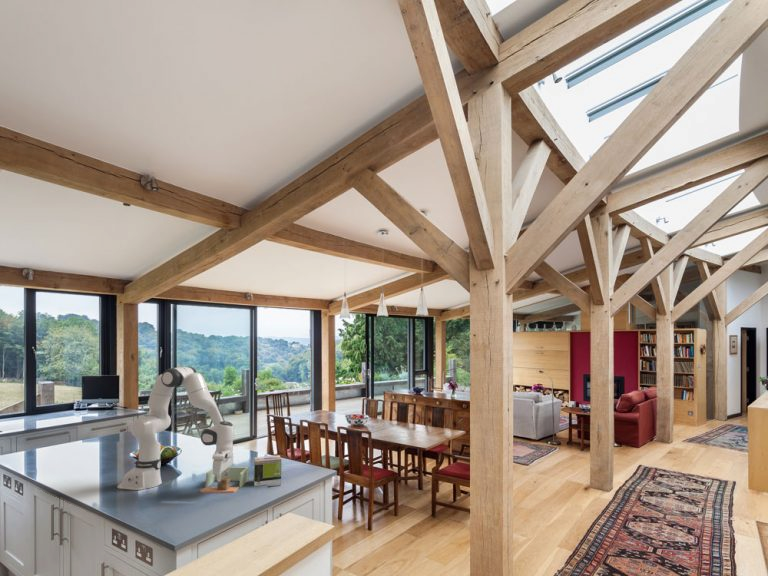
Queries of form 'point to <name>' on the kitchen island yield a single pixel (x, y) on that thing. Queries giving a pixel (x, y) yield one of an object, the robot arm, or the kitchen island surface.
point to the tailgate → (214, 490)
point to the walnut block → (223, 484)
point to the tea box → (267, 470)
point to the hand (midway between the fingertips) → (222, 478)
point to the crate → (230, 475)
